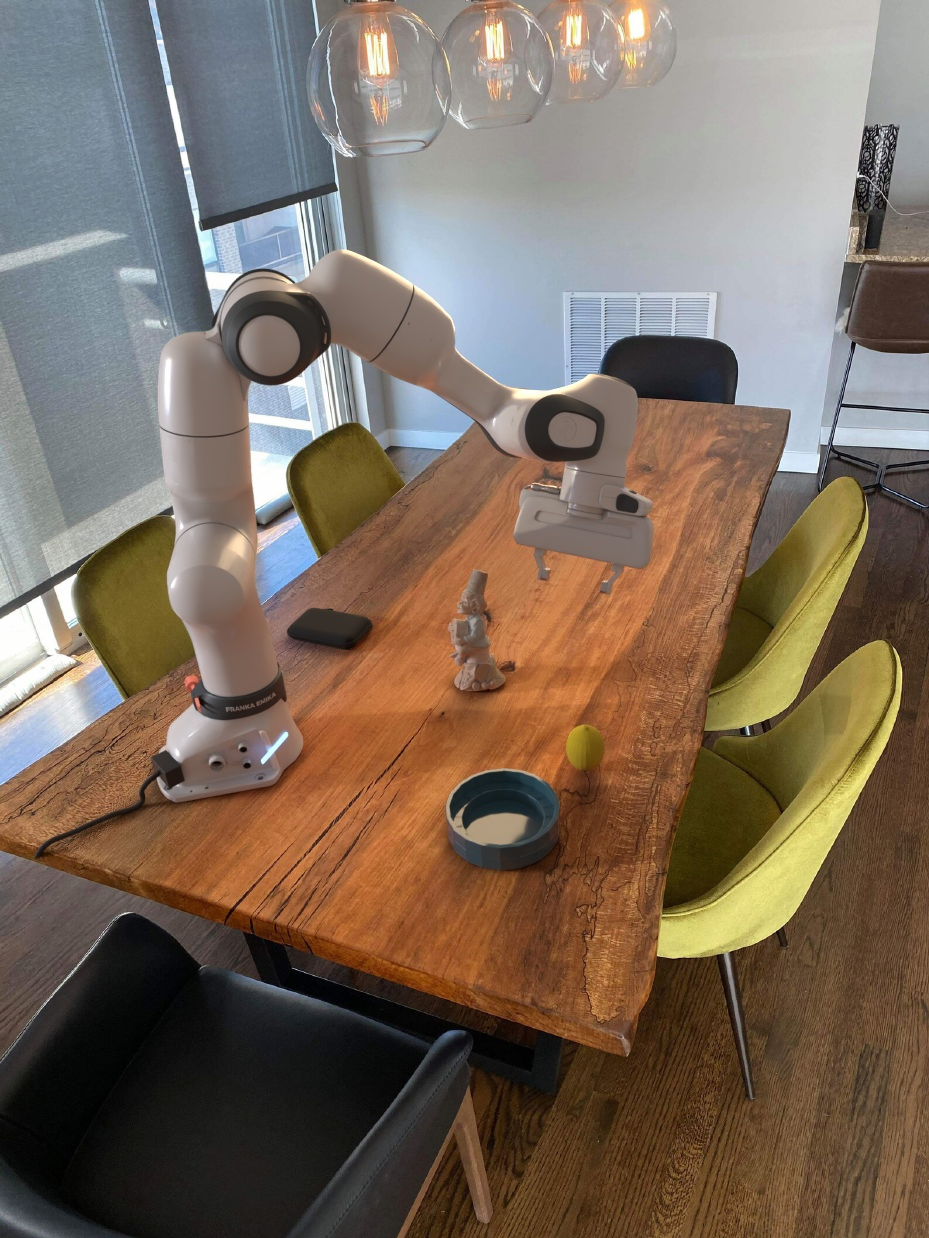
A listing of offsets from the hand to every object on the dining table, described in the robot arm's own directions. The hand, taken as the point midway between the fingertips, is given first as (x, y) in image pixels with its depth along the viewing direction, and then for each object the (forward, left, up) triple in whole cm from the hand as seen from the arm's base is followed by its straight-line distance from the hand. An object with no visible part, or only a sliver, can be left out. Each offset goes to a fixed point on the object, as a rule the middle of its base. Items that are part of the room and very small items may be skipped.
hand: (573, 586), depth 134 cm
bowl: (-21, -19, -23) cm, 36 cm away
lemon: (-5, -13, -23) cm, 27 cm away
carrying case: (-28, +42, -23) cm, 56 cm away
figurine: (-10, +15, -23) cm, 30 cm away
